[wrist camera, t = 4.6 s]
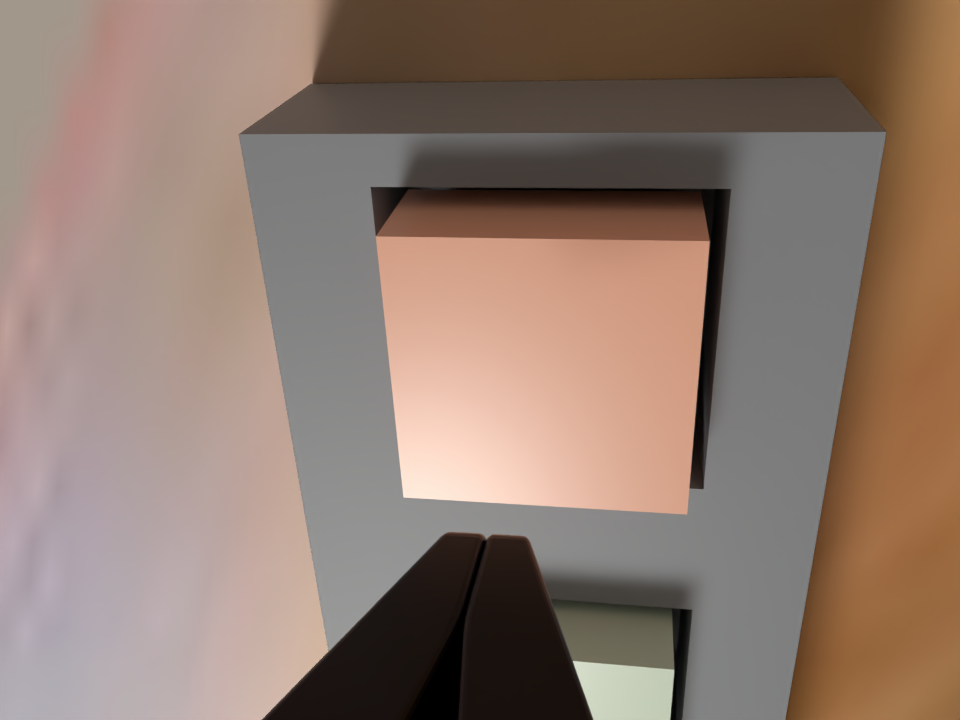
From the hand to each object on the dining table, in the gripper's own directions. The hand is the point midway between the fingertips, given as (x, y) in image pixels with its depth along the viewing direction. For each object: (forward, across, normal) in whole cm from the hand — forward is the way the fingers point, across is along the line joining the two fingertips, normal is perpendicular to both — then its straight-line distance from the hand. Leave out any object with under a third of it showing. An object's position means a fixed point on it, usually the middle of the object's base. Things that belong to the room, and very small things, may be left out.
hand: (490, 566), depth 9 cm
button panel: (+7, 0, +7) cm, 10 cm away
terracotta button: (+5, 0, 0) cm, 5 cm away
